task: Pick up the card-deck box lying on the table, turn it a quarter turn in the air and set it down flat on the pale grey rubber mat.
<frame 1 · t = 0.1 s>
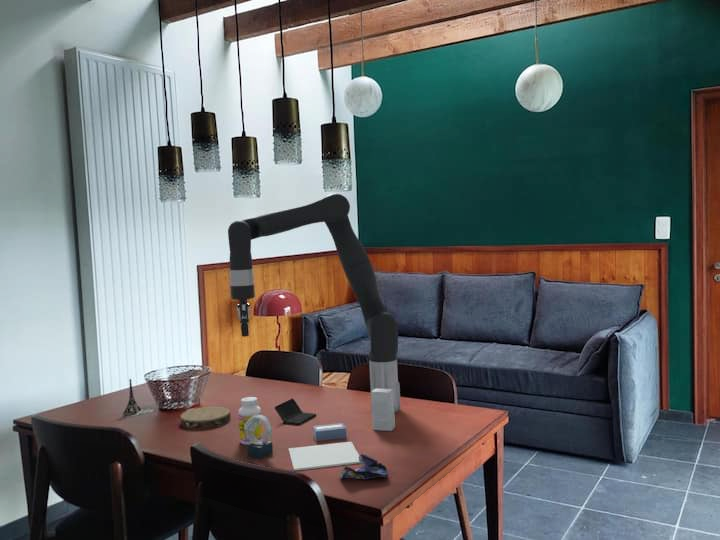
hand: (244, 334, 205), 29 cm above the table, tool pointing down, fingers open, 8 cm apart
skincare box: (383, 429, 196), on the table
supplement bottle: (251, 442, 189), on the table
eiffel tower figurine: (132, 414, 226), on the table
watch: (260, 455, 178), on the table
mat: (324, 456, 174), on the table
snack package: (366, 478, 159), on the table
beige round flat disc: (206, 422, 212), on the table
card deck: (330, 437, 191), on the table
handheld gaming console: (296, 420, 210), on the table
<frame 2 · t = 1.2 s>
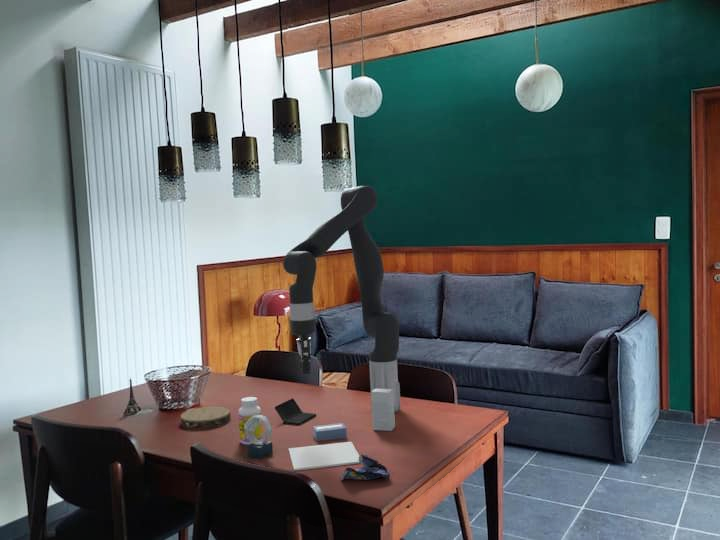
hand: (305, 370, 194), 19 cm above the table, tool pointing down, fingers open, 8 cm apart
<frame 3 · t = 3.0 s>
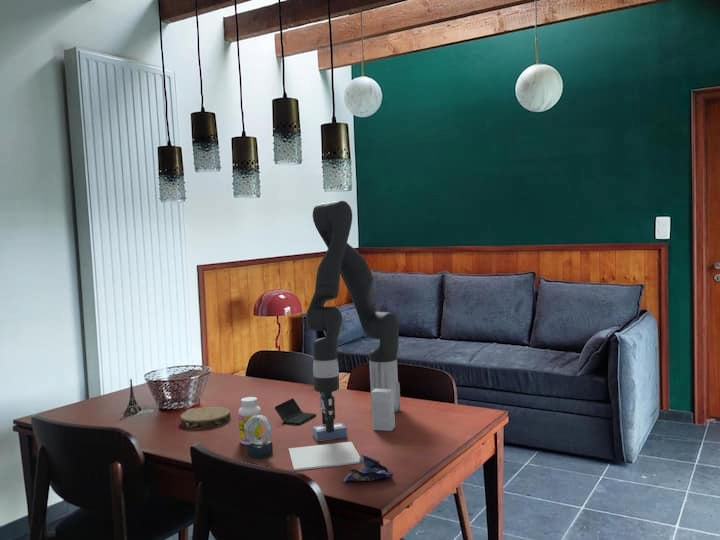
hand: (328, 427, 190), 3 cm above the table, tool pointing down, fingers open, 8 cm apart
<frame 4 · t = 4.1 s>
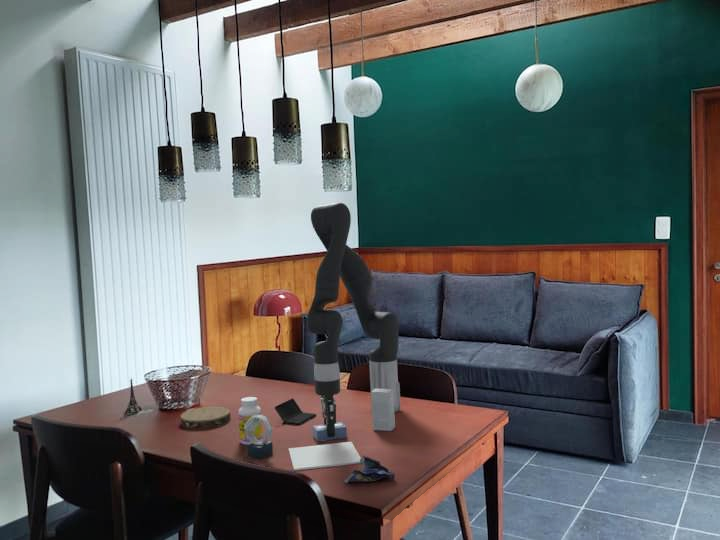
hand: (329, 433, 190), 1 cm above the table, tool pointing down, fingers closed on card deck, 5 cm apart
card deck: (329, 436, 190), on the table, touching gripper
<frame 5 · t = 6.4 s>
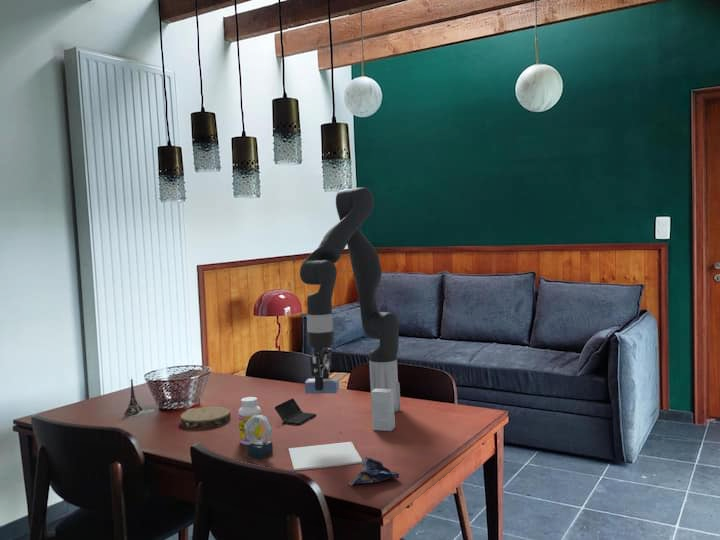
hand: (322, 387, 185), 16 cm above the table, tool pointing down, fingers closed on card deck, 5 cm apart
snack package: (373, 481, 157), on the table
card deck: (322, 391, 185), point 15 cm above the table, touching gripper
everything else where it was.
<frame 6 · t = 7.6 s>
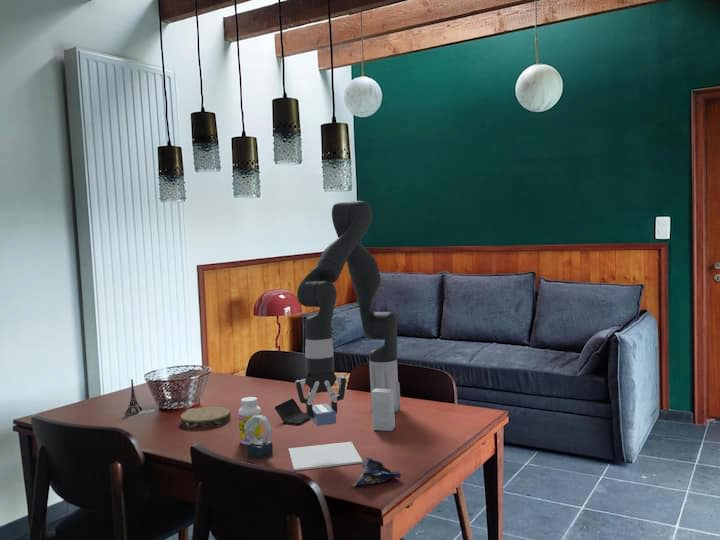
hand: (322, 416, 173), 11 cm above the table, tool pointing down, fingers closed on card deck, 5 cm apart
card deck: (322, 420, 173), point 10 cm above the table, touching gripper
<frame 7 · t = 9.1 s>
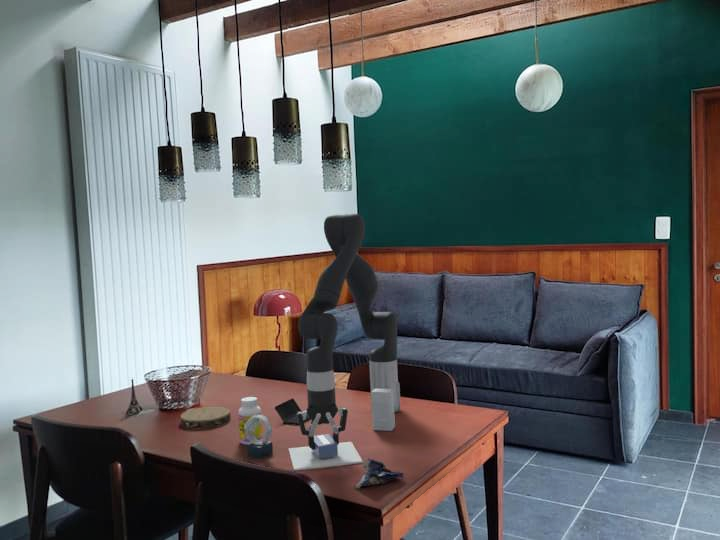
hand: (323, 447, 174), 2 cm above the table, tool pointing down, fingers closed on card deck, 5 cm apart
card deck: (324, 451, 174), point 1 cm above the table, touching gripper
when the fingers open (2 cm above the table, at t = 9.7 s): card deck stays where it is, resting on mat.
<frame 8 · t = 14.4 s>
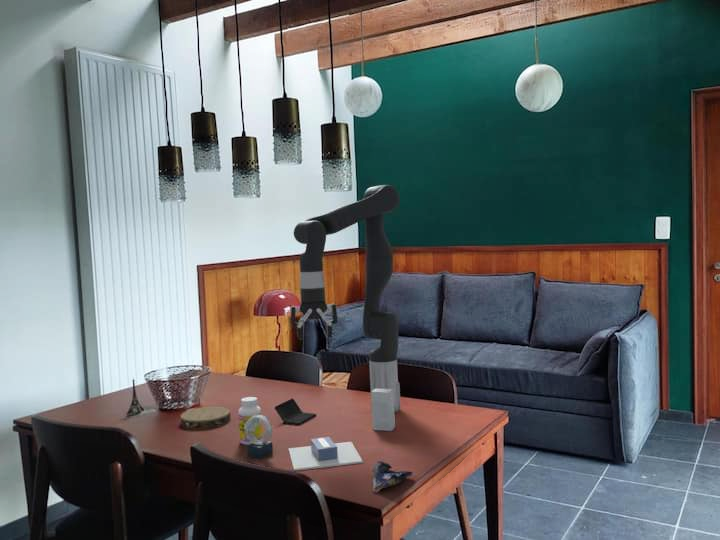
hand: (314, 338, 197), 28 cm above the table, tool pointing down, fingers open, 8 cm apart
snack package: (388, 484, 155), on the table
card deck: (324, 454, 174), resting on mat
at the end: card deck inside the target area on the mat (0.1 cm from its centre), point 0.5 cm above the mat's base; card deck tilted 0°; the gripper is holding nothing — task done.
